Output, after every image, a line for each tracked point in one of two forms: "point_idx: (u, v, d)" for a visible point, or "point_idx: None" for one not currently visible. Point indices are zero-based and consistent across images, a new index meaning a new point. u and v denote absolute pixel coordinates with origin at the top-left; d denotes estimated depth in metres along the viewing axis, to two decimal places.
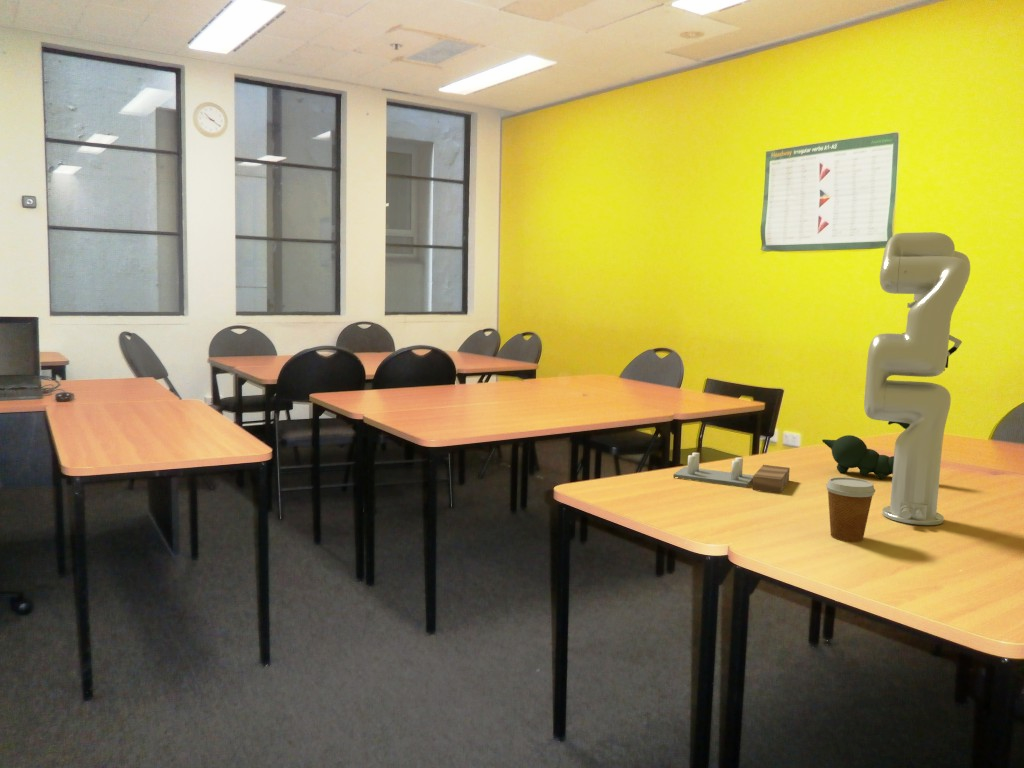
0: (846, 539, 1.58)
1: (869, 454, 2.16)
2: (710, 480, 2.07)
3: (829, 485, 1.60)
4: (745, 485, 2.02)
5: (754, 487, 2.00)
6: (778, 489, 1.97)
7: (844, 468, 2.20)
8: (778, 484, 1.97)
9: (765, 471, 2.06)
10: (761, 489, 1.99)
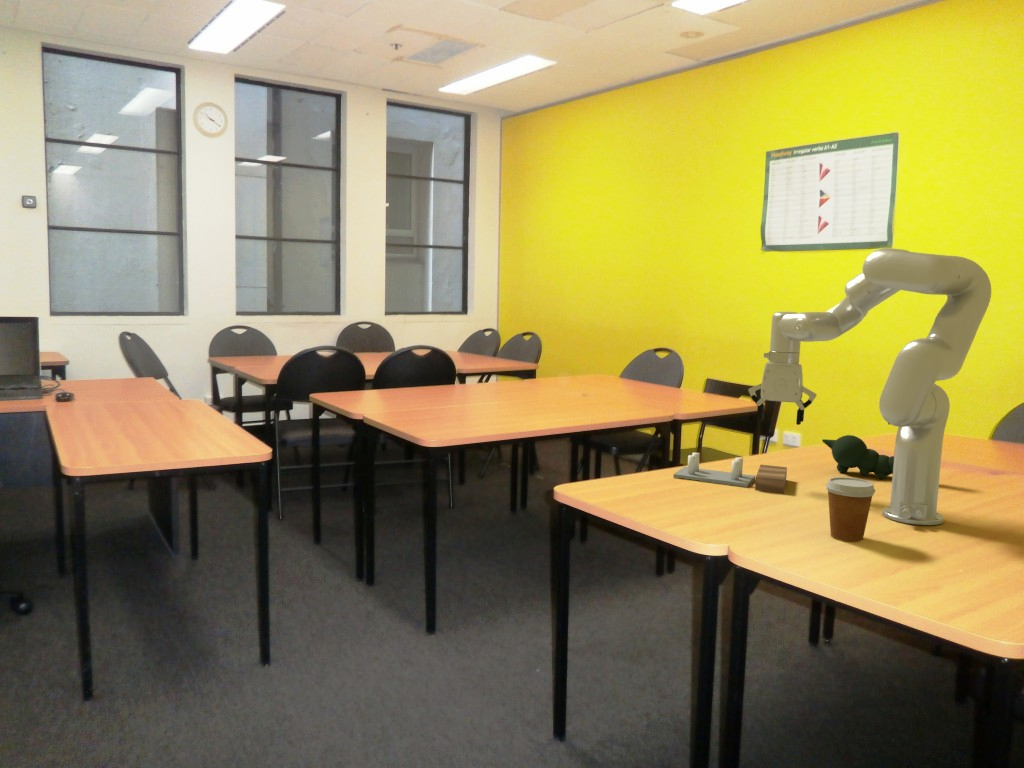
0: (846, 539, 1.58)
1: (869, 454, 2.16)
2: (710, 480, 2.07)
3: (829, 485, 1.60)
4: (745, 485, 2.02)
5: (757, 488, 1.99)
6: (781, 489, 1.97)
7: (844, 468, 2.20)
8: (781, 484, 1.97)
9: (765, 471, 2.05)
10: (764, 489, 1.99)
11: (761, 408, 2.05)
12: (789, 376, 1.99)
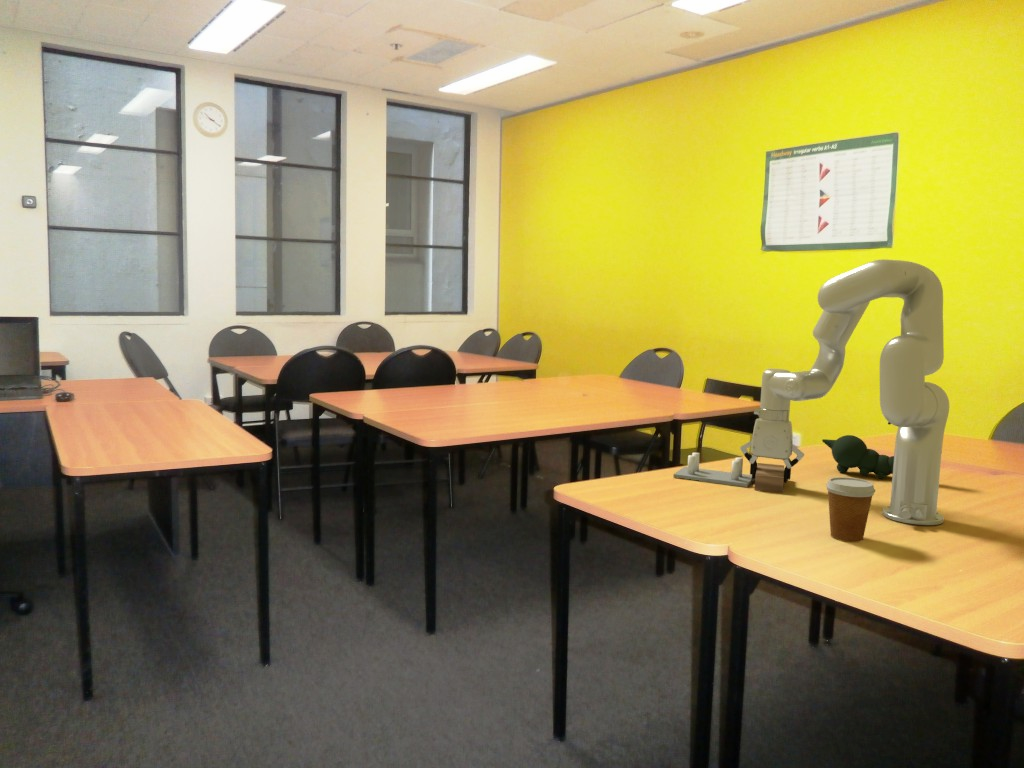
0: (846, 539, 1.58)
1: (869, 454, 2.16)
2: (710, 480, 2.07)
3: (829, 485, 1.60)
4: (745, 485, 2.02)
5: (756, 486, 1.99)
6: (781, 488, 1.97)
7: (844, 468, 2.20)
8: (781, 483, 1.97)
9: (764, 469, 2.06)
10: (763, 488, 1.99)
11: (754, 466, 2.06)
12: (779, 433, 2.01)
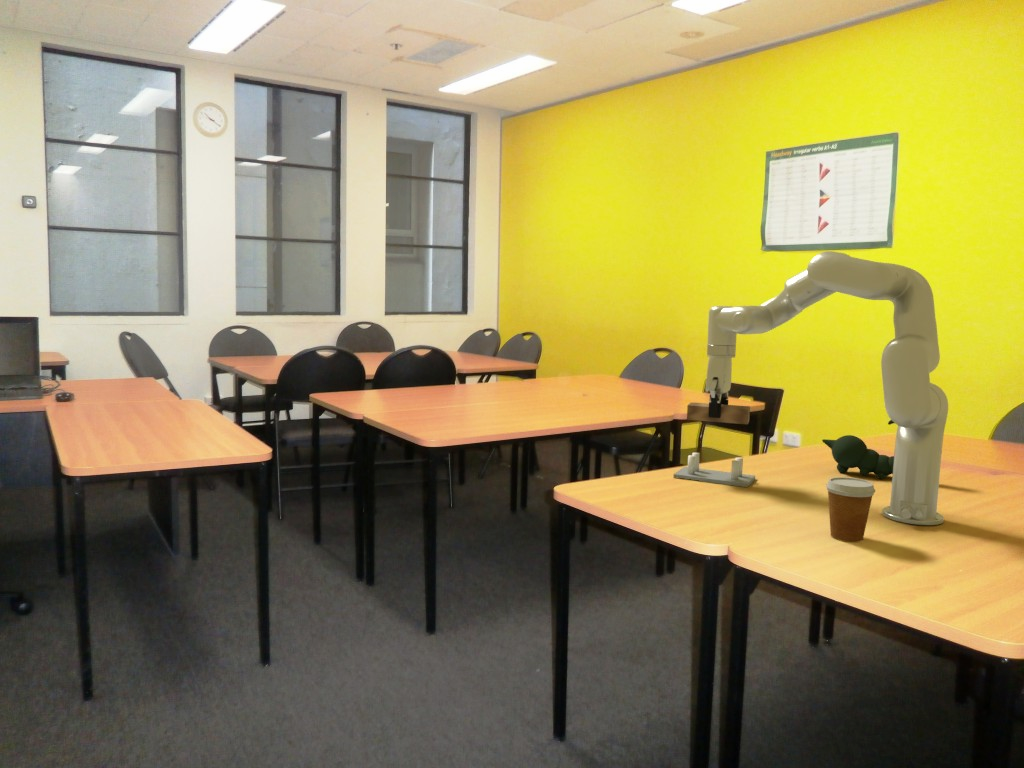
0: (846, 539, 1.58)
1: (869, 454, 2.16)
2: (710, 480, 2.07)
3: (829, 485, 1.60)
4: (745, 485, 2.02)
5: None
6: (687, 415, 2.10)
7: (844, 468, 2.20)
8: None
9: None
10: None
11: None
12: None
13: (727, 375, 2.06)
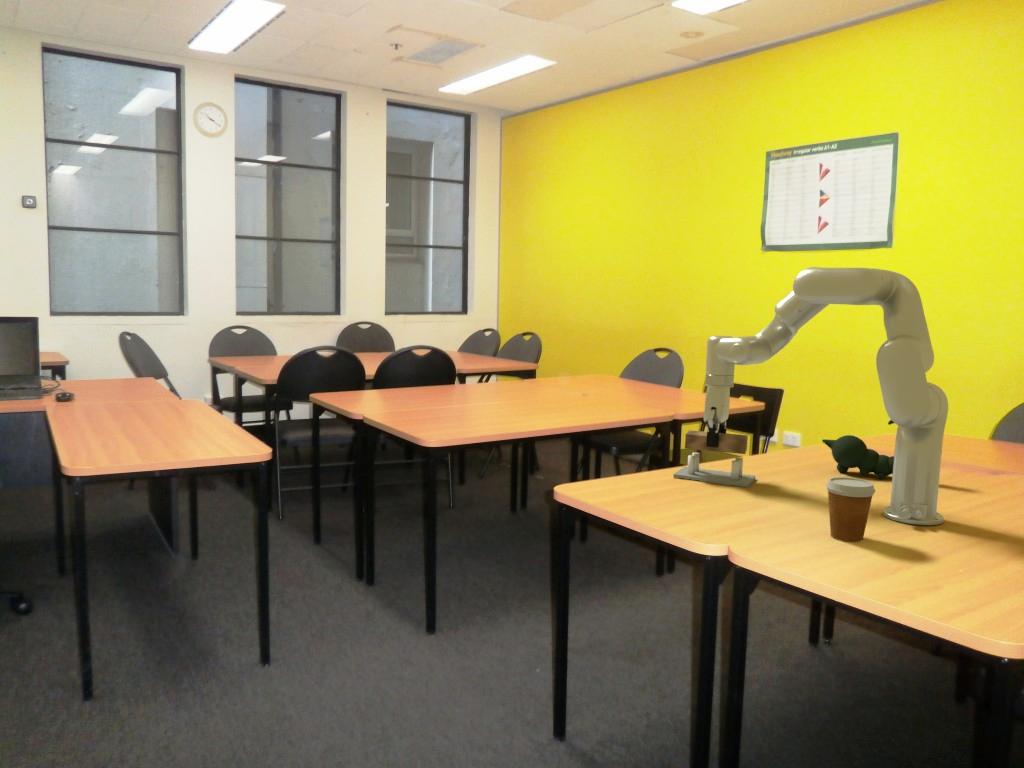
0: (846, 539, 1.58)
1: (869, 454, 2.16)
2: (710, 480, 2.07)
3: (829, 485, 1.60)
4: (745, 485, 2.02)
5: None
6: (685, 443, 2.11)
7: (844, 468, 2.20)
8: None
9: None
10: None
11: None
12: None
13: (725, 405, 2.07)
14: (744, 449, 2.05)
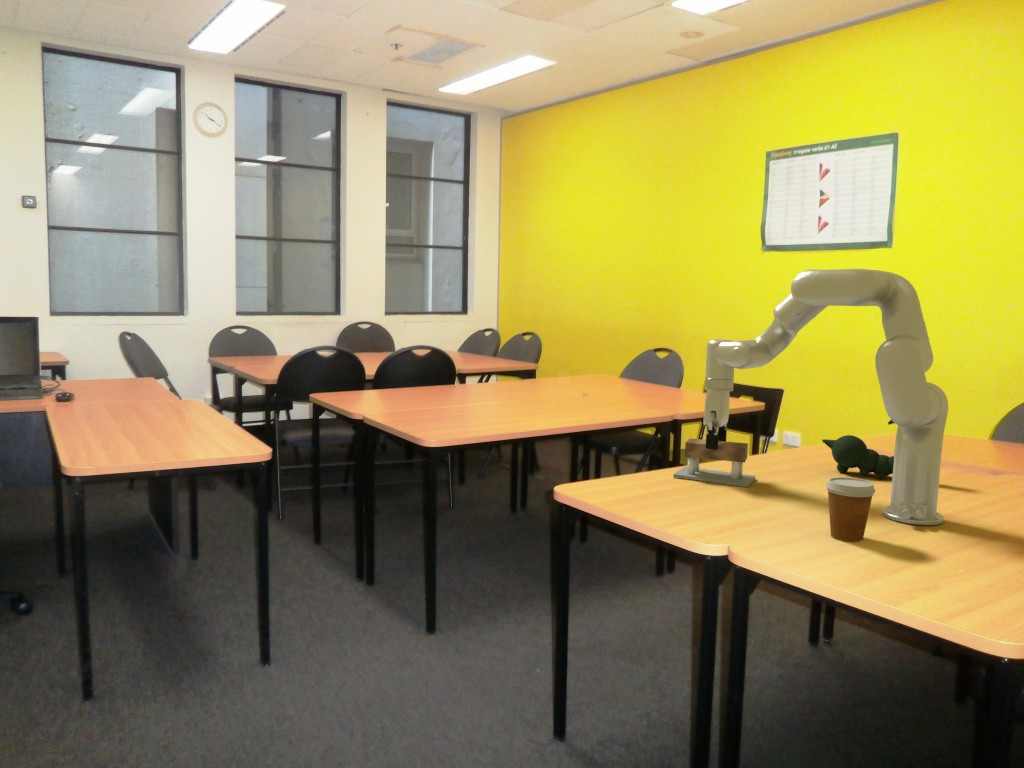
0: (846, 539, 1.58)
1: (869, 454, 2.16)
2: (710, 480, 2.07)
3: (829, 485, 1.60)
4: (745, 485, 2.02)
5: None
6: (685, 452, 2.11)
7: (844, 468, 2.20)
8: (685, 447, 2.11)
9: None
10: None
11: None
12: None
13: (725, 408, 2.07)
14: (744, 457, 2.05)
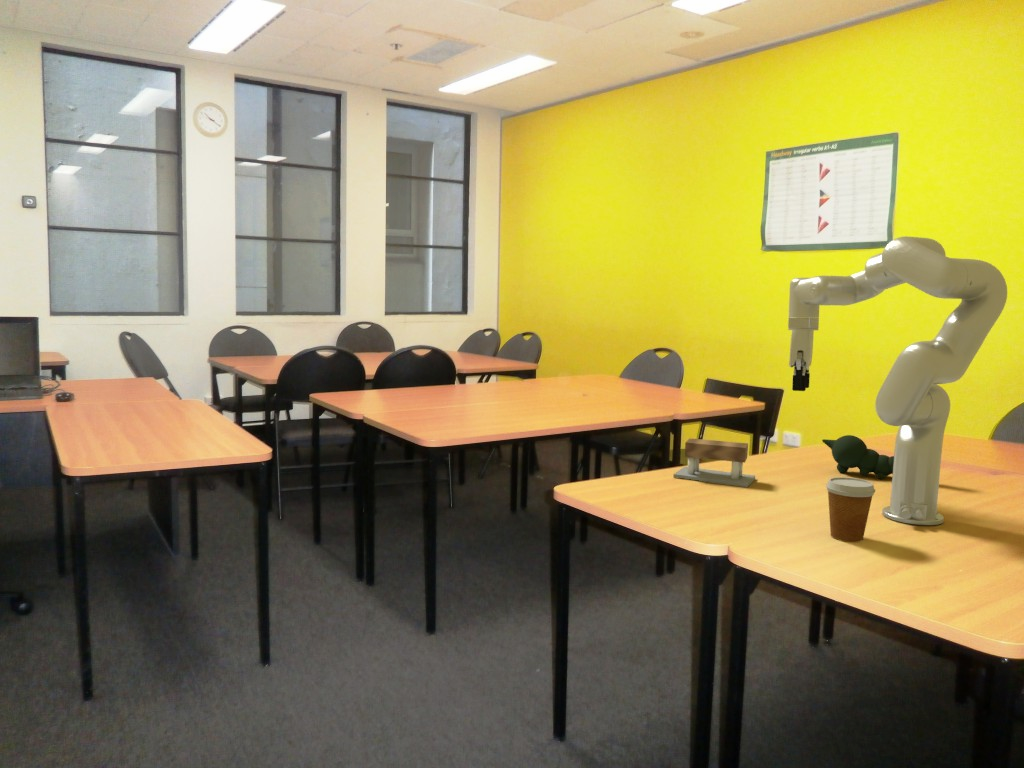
0: (846, 539, 1.58)
1: (869, 454, 2.16)
2: (710, 480, 2.07)
3: (829, 485, 1.60)
4: (745, 485, 2.02)
5: None
6: (685, 452, 2.11)
7: (844, 468, 2.20)
8: (685, 447, 2.11)
9: (715, 441, 2.12)
10: None
11: None
12: None
13: (811, 348, 2.00)
14: (744, 457, 2.05)
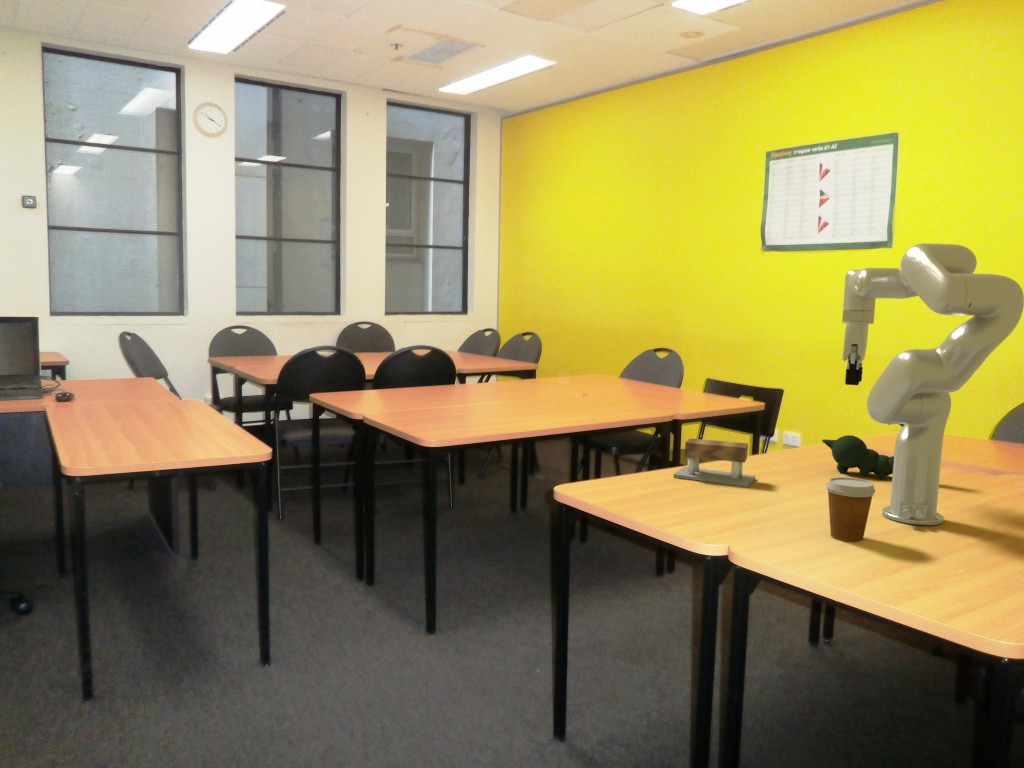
0: (846, 539, 1.58)
1: (869, 454, 2.16)
2: (710, 480, 2.07)
3: (829, 485, 1.60)
4: (745, 485, 2.02)
5: None
6: (685, 452, 2.11)
7: (844, 468, 2.20)
8: (685, 447, 2.11)
9: (715, 441, 2.12)
10: None
11: None
12: None
13: (866, 342, 1.96)
14: (744, 457, 2.05)
